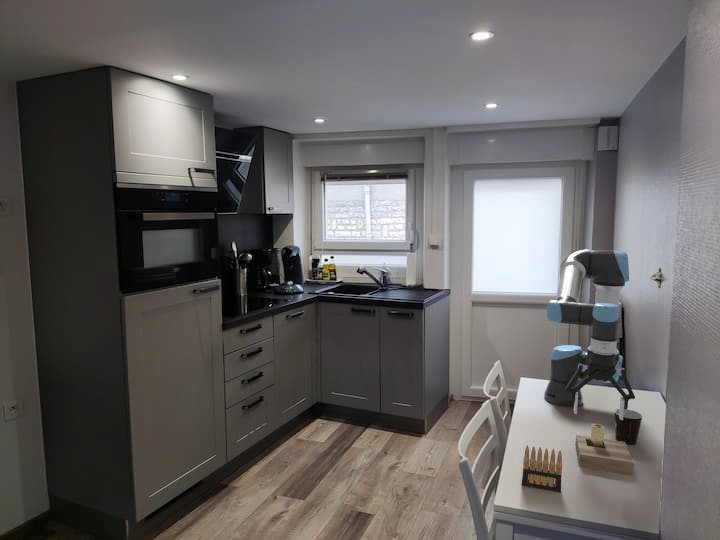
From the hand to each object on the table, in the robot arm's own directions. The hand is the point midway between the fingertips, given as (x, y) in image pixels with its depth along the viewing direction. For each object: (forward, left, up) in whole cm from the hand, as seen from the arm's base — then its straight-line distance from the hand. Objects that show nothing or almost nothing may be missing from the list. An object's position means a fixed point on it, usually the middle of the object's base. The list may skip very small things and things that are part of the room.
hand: (597, 415), depth 166 cm
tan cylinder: (0, 0, -14) cm, 14 cm away
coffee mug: (-14, +11, -14) cm, 23 cm away
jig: (+3, +2, -14) cm, 14 cm away
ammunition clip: (+28, -17, -14) cm, 35 cm away
